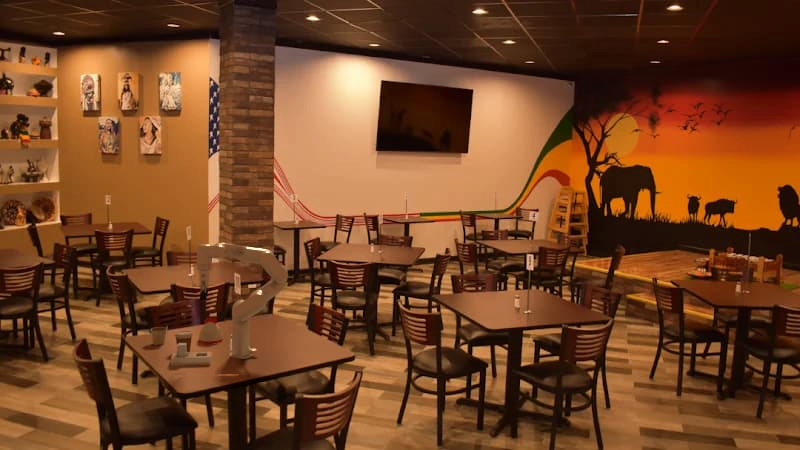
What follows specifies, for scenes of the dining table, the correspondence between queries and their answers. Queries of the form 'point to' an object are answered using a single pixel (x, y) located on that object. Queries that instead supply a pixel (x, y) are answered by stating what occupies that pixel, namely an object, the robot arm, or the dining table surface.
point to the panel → (192, 359)
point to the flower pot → (158, 335)
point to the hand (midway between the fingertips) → (203, 297)
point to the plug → (182, 349)
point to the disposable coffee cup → (184, 338)
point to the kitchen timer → (210, 332)
